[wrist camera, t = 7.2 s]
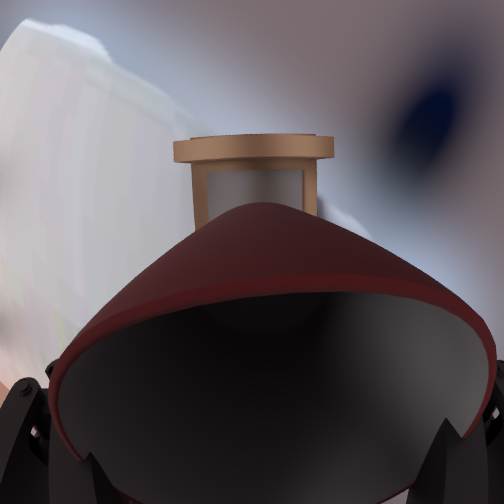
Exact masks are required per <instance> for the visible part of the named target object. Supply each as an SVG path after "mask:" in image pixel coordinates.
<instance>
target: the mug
mask: <svg viewBox="0 0 504 504" xmlns="http://www.w3.org/2000/svg"><path fill="white" fill-rule="evenodd" d="M496 374H497V355H496V345H495V342H494V340H493V337H492V335H491V332H490V330H489V329H488V327H487V325H486V323H485V322H484V320H483V319H482V318H481V317H480V316H479V315H478V314H477V313H476V312H475V311H474V310H473V309H472V308H471V307H470V306H469V305H468V304H466V303H465V302H464V301H463V300H462V299H461V298H460V297H458V296H457V295H456V294H454V293H453V292H452V291H450V290H449V289H447V288H446V287H445V286H443V285H442V284H441V283H439V282H438V281H436V280H435V279H433V278H432V277H430V276H429V275H427V274H426V273H424V272H423V271H421V270H420V269H418V268H416V267H415V266H413V265H411V264H410V263H408V262H406V261H405V260H403V259H401V258H400V257H398V256H396V255H395V254H393V253H391V252H389V251H388V250H386V249H384V248H382V247H381V246H379V245H377V244H375V243H373V242H371V241H369V240H367V239H365V238H363V237H361V236H359V235H357V234H355V233H353V232H351V231H349V230H347V229H345V228H342V227H340V226H338V225H336V224H333V223H331V222H329V221H326V220H324V219H321V218H319V217H316V216H314V215H311V214H309V213H306V212H304V211H301V210H298V209H295V208H292V207H290V206H287V205H283V204H278V203H271V202H255V203H249V204H244V205H241V206H238V207H235V208H233V209H231V210H228V211H226V212H225V213H223V214H221V215H219V216H218V217H216V218H215V219H213V220H212V221H210V222H208V223H207V224H205V225H204V226H202V227H201V228H199V229H198V230H196V231H195V232H194V233H192V234H191V235H189V236H188V237H186V238H185V239H184V240H182V241H181V242H179V243H178V244H177V245H175V246H174V247H173V248H171V249H170V250H169V251H167V252H166V253H165V254H164V255H162V256H161V257H160V258H159V259H157V260H156V261H155V262H154V263H152V264H151V265H150V266H149V267H147V268H146V269H145V270H144V271H142V272H141V273H140V274H139V275H138V276H136V277H135V278H134V279H133V280H132V281H131V282H130V283H129V284H127V285H126V286H125V287H124V288H123V289H122V290H121V291H120V292H119V293H118V294H117V295H115V296H114V297H113V298H112V299H111V300H110V301H109V302H108V303H107V304H106V305H105V306H104V307H103V308H102V309H101V310H100V311H99V312H98V313H97V314H96V315H95V316H94V317H93V318H92V319H91V320H90V321H89V322H88V323H87V325H86V326H85V327H84V328H83V329H82V330H81V331H80V332H79V333H78V334H77V336H76V337H75V338H74V339H73V341H72V342H71V343H70V345H69V346H68V347H67V348H66V349H65V351H64V352H63V354H62V355H61V356H60V358H59V359H58V361H57V363H56V365H55V367H54V369H53V371H52V373H51V375H50V382H49V390H48V404H49V408H50V412H51V415H52V419H53V422H54V425H55V428H56V430H57V431H58V433H59V435H60V437H61V438H62V440H63V441H64V443H65V445H66V446H67V448H68V449H69V451H70V452H71V453H72V454H73V455H74V457H75V458H76V459H77V460H78V461H85V459H86V458H87V456H88V454H89V453H90V451H91V453H92V454H93V455H94V457H95V458H96V460H97V461H98V462H99V464H100V465H101V467H102V469H103V470H104V472H105V473H106V475H107V477H108V478H109V480H110V482H111V484H112V485H113V487H114V488H115V489H116V490H117V491H118V492H119V493H120V494H121V495H122V496H124V497H126V498H127V499H129V500H131V501H133V502H135V503H137V504H381V503H383V502H385V501H387V500H389V499H391V498H393V497H395V496H396V495H399V494H400V493H402V492H404V491H405V490H407V489H409V488H410V487H411V486H412V485H413V483H414V482H415V480H416V478H417V475H418V473H419V471H420V468H421V466H422V464H423V462H424V459H425V457H426V455H427V452H428V450H429V448H430V446H431V444H432V442H433V440H434V438H435V436H436V434H437V432H438V430H439V428H440V426H441V424H442V422H443V421H444V419H445V417H446V418H447V419H448V420H449V422H450V423H451V424H452V426H453V427H454V428H455V430H456V431H457V432H458V434H459V435H460V436H461V438H466V437H467V436H468V435H469V434H470V432H471V431H472V430H473V428H474V427H475V426H476V424H477V423H478V421H479V419H480V417H481V415H482V413H483V412H484V410H485V408H486V406H487V404H488V402H489V399H490V397H491V393H492V390H493V386H494V382H495V378H496Z"/></svg>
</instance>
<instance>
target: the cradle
mask: <svg viewBox="0 0 504 504" xmlns="http://www.w3.org/2000/svg"><path fill="white" fill-rule="evenodd" d="M173 149H174V162H178V163H191V171H192V189H193V205H194V218H195V231H196V230H198V229H199V228H201V227H202V226H204V225H205V224H207V223H208V222H210V221H212V220H213V219H215V218H216V217H218V216H219V215H221V214H223V213H225V212H226V211H228V210H231V209H233V208H235V207H238V206H241V205H244V204H249V203H255V202H271V203H278V204H283V205H287V206H290V207H292V208H295V209H298V210H301V211H304V212H306V213H309V214H311V215H314V216H316V217H317V169H316V168H317V167H316V166H317V163H316V159H324V158H332V157H334V137H327V136H316V135H315V134H243V135H223V136H209V137H198V138H190V140H184V141H175V142H173Z"/></svg>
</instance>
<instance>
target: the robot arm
mask: <svg viewBox="0 0 504 504" xmlns="http://www.w3.org/2000/svg"><path fill="white" fill-rule="evenodd" d="M57 361H58V359H56V360H55V361H53V362H51V363H50V364H49V365H48V366H47V368H46V370H45V372H46V374H47V376H48V378H49V380H50V375H51V373H52V371H53V369H54V367H55V365H56V363H57ZM48 390H49V388H41V386H40V385H39V383H38V381H37V380H36V379H34V378H31V377H27V378H23V379H20V380H19V381H17V382H16V383H15V384H14V385H13V386H12V388H11V390H10V392H9V393H8V395H7V397H6V399H5V401H4V402H3V404H2V406H1V408H0V504H137V503H135V502H133V501H131V500H129V499H127V498H126V497H124V496H122V495H121V494H120V493H119V492H118V491H117V490H116V489H115V488H114V487H113V485H112V484H111V482H110V480H109V478H108V477H107V475H106V473H105V472H104V470H103V469H102V467H101V465H100V464H99V462H98V461H97V460H96V458H95V457H94V455H93V454H92V453H91V451H90V453H89V454H88V456H87V458H86V459H85V461H78V460H77V459H76V458H75V457H74V455H73V454H72V453H71V452H70V451H69V449H68V448H67V446H66V445H65V443H64V441H63V440H62V438H61V437H60V435H59V433H58V431H57V430H56V428H55V425H54V422H53V419H52V415H51V412H50V408H49V404H48ZM496 408H497V409H498V411H499V413H500V414H499V415H498V417H497V418H496V419H495V418H494V417H493V415H492V414H493V413H494V411H495V410H496ZM32 428H34V429H35V430H36V431H37V432H36V434H35V435H34V436H33V435H32V434H31V430H32ZM406 504H504V361H502V360H497V374H496V378H495V382H494V386H493V390H492V393H491V397H490V399H489V402H488V404H487V406H486V408H485V410H484V412H483V413H482V415H481V417H480V419H479V421H478V423H477V424H476V426H475V427H474V428H473V430H472V431H471V432H470V434H469V435H468V436H467V437H466V438H461V436H460V435H459V434H458V432H457V431H456V430H455V428H454V427H453V426H452V424H451V423H450V422H449V420H448V419H447V418H446V417H445V419H444V421H443V422H442V424H441V426H440V428H439V430H438V432H437V434H436V436H435V438H434V440H433V442H432V444H431V446H430V448H429V450H428V452H427V455H426V457H425V459H424V462H423V464H422V466H421V468H420V471H419V473H418V475H417V478H416V480H415V482H414V483H413V485H412V486H411V487H410V488H409V491H408V497H407V501H406Z"/></svg>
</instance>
